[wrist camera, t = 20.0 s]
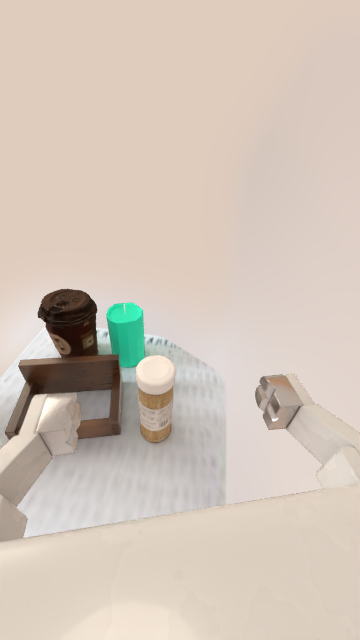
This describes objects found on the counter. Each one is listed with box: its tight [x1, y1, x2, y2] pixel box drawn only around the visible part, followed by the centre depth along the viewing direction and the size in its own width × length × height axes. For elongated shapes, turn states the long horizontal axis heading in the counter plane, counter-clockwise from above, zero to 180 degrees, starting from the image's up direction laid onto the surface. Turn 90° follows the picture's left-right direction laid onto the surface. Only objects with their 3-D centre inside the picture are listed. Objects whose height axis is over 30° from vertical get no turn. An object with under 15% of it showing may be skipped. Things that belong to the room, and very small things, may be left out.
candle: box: [106, 303, 145, 367], centre depth 43 cm, size 6×6×12 cm
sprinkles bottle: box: [136, 355, 175, 442], centre depth 32 cm, size 5×5×13 cm
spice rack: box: [5, 354, 123, 440], centre depth 35 cm, size 14×9×7 cm, turn 98°
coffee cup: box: [38, 289, 98, 358], centre depth 42 cm, size 9×8×13 cm
